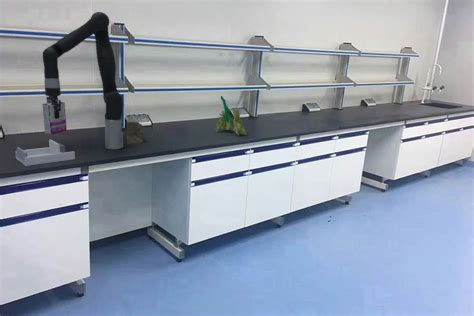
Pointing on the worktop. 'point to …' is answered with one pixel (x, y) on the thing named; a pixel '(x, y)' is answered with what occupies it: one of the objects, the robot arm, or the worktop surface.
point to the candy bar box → (49, 119)
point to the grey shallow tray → (41, 156)
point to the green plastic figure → (227, 123)
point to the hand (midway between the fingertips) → (54, 117)
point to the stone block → (134, 132)
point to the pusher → (56, 147)
